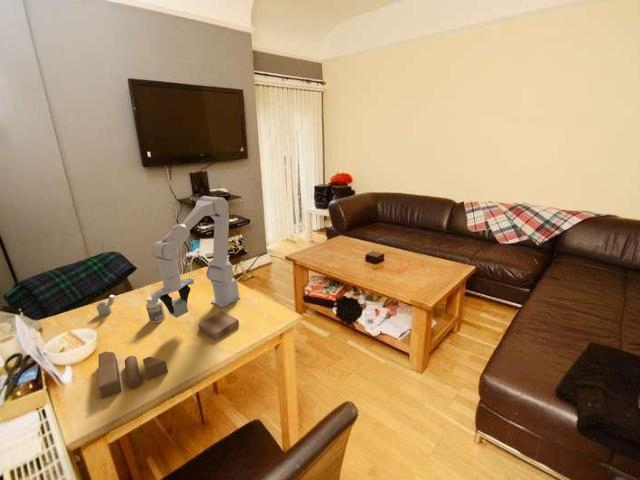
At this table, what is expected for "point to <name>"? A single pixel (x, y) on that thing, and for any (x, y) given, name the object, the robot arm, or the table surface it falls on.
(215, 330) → the walnut block
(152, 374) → the wooden block set
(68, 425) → the table surface
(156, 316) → the pill bottle
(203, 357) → the table surface
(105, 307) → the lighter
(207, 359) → the table surface
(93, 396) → the table surface
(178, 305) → the grey cube
